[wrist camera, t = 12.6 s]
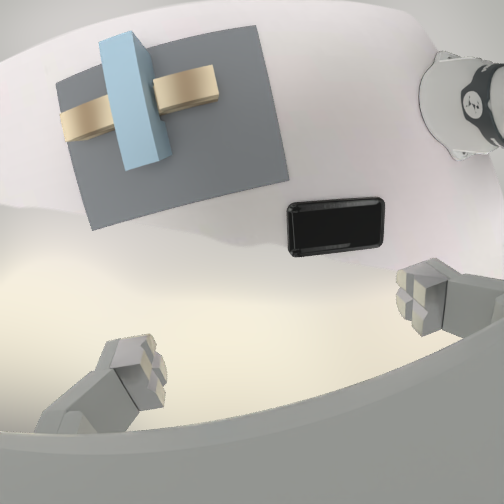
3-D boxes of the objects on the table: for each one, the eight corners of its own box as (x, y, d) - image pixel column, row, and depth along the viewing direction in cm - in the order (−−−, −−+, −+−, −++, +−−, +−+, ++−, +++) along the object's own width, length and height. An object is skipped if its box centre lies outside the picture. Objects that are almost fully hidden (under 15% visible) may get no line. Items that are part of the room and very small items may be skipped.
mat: (255, 26, 35) (255, 25, 34) (288, 180, 43) (289, 180, 42) (56, 83, 34) (55, 83, 33) (93, 230, 42) (92, 231, 41)
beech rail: (212, 76, 36) (212, 64, 30) (217, 101, 38) (219, 94, 31) (81, 116, 36) (59, 113, 29) (86, 140, 37) (65, 141, 30)
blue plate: (150, 55, 34) (131, 30, 24) (172, 154, 39) (159, 160, 29) (125, 63, 34) (98, 42, 24) (146, 161, 39) (125, 170, 29)
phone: (287, 204, 43) (385, 197, 44) (285, 202, 44) (381, 196, 45) (289, 258, 46) (382, 247, 47) (287, 256, 47) (379, 245, 48)
